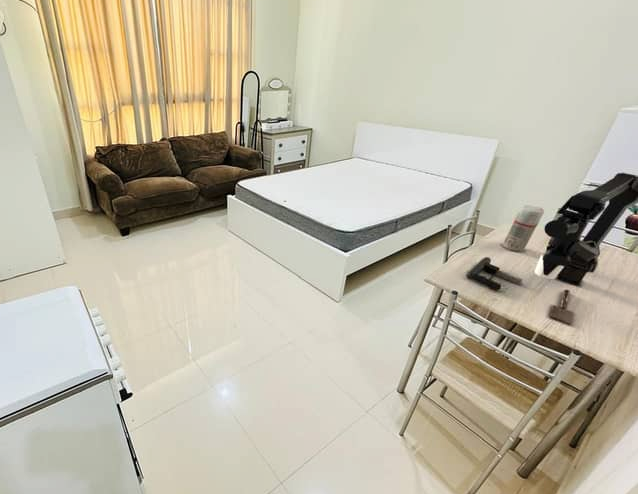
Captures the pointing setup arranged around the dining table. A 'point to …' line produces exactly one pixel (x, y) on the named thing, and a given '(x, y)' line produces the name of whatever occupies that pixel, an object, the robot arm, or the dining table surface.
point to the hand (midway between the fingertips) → (546, 271)
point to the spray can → (523, 228)
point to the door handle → (490, 269)
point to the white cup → (540, 272)
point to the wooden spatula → (562, 310)
